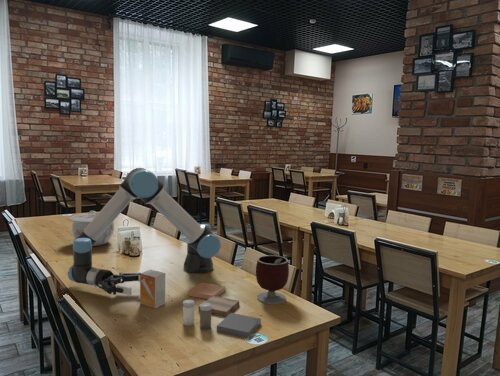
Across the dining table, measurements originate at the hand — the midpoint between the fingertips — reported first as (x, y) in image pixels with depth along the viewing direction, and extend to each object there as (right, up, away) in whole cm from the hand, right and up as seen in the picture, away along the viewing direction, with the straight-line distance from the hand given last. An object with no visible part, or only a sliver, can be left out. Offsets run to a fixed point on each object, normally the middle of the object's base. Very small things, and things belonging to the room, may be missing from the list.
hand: (141, 286), depth 170 cm
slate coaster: (+40, -10, -19) cm, 46 cm away
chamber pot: (-52, +5, +88) cm, 103 cm away
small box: (+5, -7, -1) cm, 9 cm away
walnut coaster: (+32, -8, -3) cm, 33 cm away
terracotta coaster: (+25, -6, +13) cm, 29 cm away
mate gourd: (+53, -8, +8) cm, 54 cm away
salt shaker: (+22, -10, -17) cm, 29 cm away
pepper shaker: (+28, -10, -20) cm, 36 cm away
